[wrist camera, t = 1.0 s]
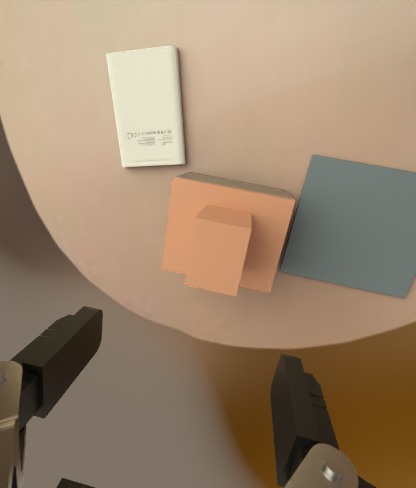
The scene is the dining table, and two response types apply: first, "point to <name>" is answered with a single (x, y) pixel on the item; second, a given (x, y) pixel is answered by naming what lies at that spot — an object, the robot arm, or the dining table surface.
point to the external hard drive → (148, 106)
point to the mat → (355, 227)
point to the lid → (224, 235)
